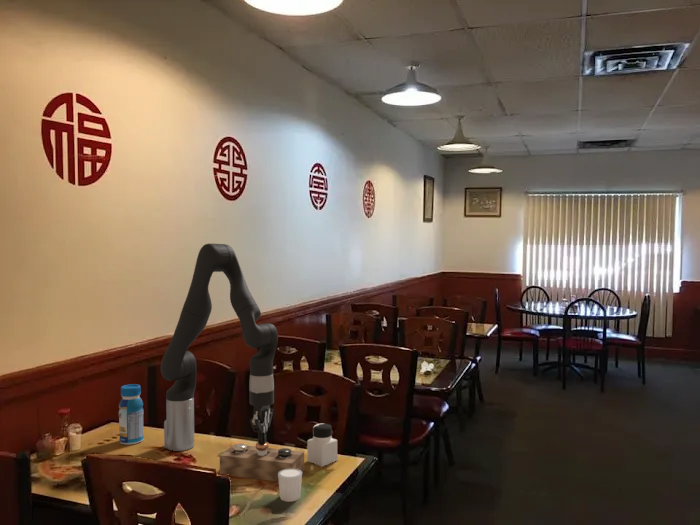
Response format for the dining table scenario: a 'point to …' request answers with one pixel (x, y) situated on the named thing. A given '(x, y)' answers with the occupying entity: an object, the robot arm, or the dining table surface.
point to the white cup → (290, 484)
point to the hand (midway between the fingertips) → (262, 443)
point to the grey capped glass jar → (284, 453)
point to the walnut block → (259, 463)
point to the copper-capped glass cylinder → (262, 449)
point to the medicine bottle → (322, 446)
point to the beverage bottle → (131, 415)
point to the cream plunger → (240, 448)
